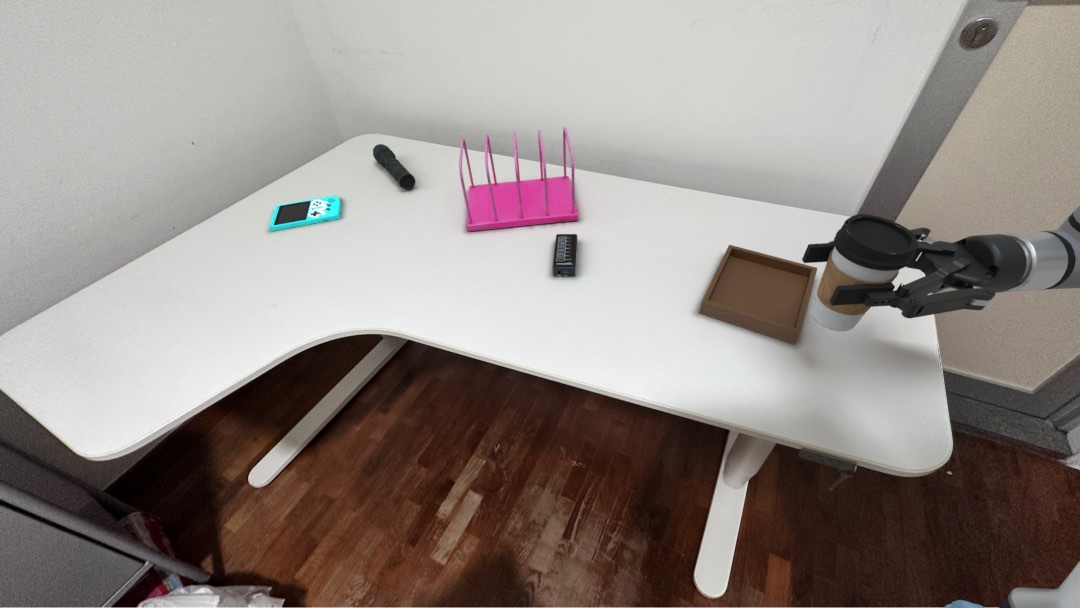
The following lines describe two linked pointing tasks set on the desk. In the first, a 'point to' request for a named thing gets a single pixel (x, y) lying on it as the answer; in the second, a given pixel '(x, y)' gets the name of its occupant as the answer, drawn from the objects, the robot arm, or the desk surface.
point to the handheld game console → (305, 212)
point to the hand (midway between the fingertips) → (819, 273)
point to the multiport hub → (565, 255)
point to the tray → (760, 293)
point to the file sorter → (519, 195)
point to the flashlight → (393, 166)
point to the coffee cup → (861, 265)
